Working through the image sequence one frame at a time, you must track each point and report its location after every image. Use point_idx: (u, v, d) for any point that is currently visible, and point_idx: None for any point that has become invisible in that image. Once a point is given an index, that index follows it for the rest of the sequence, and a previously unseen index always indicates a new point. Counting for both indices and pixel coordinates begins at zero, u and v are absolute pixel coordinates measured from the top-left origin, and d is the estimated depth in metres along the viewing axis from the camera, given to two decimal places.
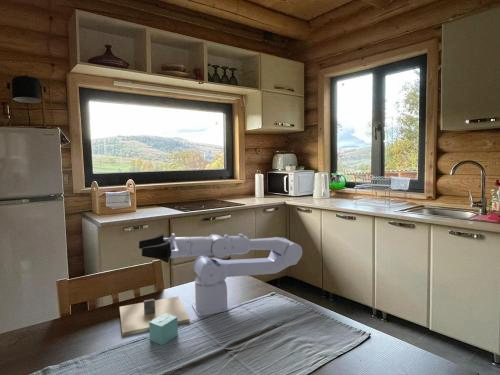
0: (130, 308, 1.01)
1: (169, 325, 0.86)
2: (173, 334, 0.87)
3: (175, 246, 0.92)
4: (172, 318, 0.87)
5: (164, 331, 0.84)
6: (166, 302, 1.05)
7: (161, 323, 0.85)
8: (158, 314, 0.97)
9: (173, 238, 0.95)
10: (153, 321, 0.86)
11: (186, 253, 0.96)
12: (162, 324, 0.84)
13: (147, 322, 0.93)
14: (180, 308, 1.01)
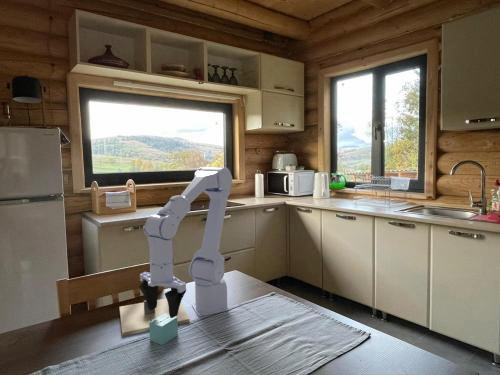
0: (130, 308, 1.01)
1: (169, 325, 0.86)
2: (173, 334, 0.87)
3: (171, 285, 0.82)
4: (172, 318, 0.87)
5: (164, 331, 0.84)
6: (166, 302, 1.05)
7: (161, 323, 0.85)
8: (158, 314, 0.97)
9: (156, 284, 0.82)
10: (153, 321, 0.86)
11: (172, 266, 0.85)
12: (162, 324, 0.84)
13: (147, 322, 0.93)
14: (180, 308, 1.01)
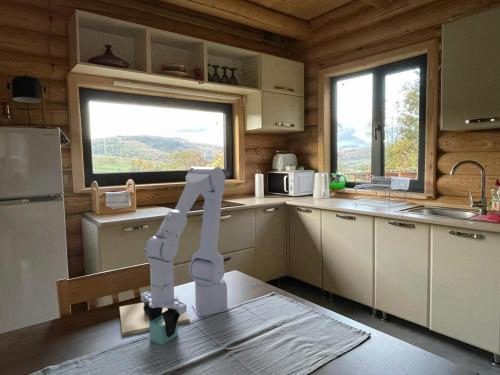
0: (130, 308, 1.01)
1: None
2: None
3: (172, 307, 0.82)
4: None
5: (164, 331, 0.84)
6: None
7: (161, 323, 0.85)
8: None
9: (157, 305, 0.83)
10: (153, 321, 0.86)
11: (173, 286, 0.85)
12: (162, 324, 0.84)
13: (147, 322, 0.93)
14: None
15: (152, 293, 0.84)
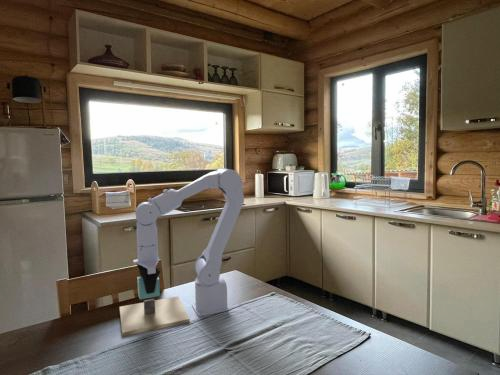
0: (130, 308, 1.01)
1: None
2: (154, 293, 0.96)
3: (144, 266, 0.91)
4: None
5: (142, 287, 0.94)
6: (166, 302, 1.05)
7: None
8: (158, 314, 0.97)
9: (137, 262, 0.94)
10: (140, 277, 0.97)
11: (153, 249, 0.94)
12: (141, 281, 0.94)
13: (147, 322, 0.93)
14: (180, 308, 1.01)
15: None
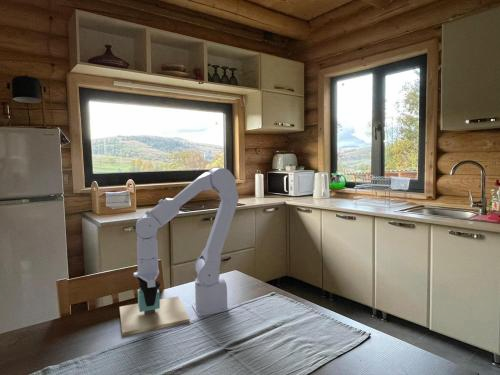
0: (130, 308, 1.01)
1: None
2: (154, 306, 0.96)
3: (144, 279, 0.92)
4: None
5: (142, 300, 0.95)
6: (166, 302, 1.05)
7: None
8: (158, 314, 0.97)
9: (137, 275, 0.94)
10: (140, 289, 0.98)
11: (153, 262, 0.95)
12: (142, 294, 0.95)
13: (147, 322, 0.93)
14: (180, 308, 1.01)
15: None
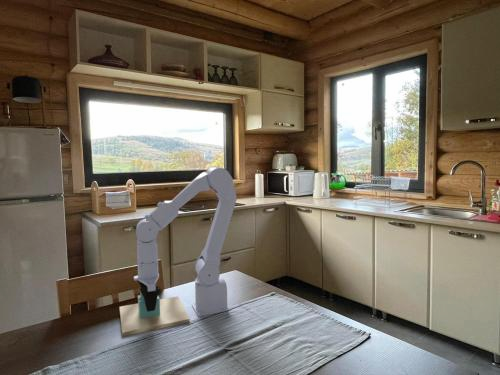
0: (130, 308, 1.01)
1: None
2: (154, 312, 0.96)
3: (144, 283, 0.92)
4: None
5: (143, 306, 0.95)
6: (166, 302, 1.05)
7: (143, 299, 0.96)
8: None
9: (138, 279, 0.95)
10: (140, 296, 0.98)
11: (153, 266, 0.95)
12: (142, 300, 0.95)
13: (147, 322, 0.93)
14: (180, 308, 1.01)
15: None
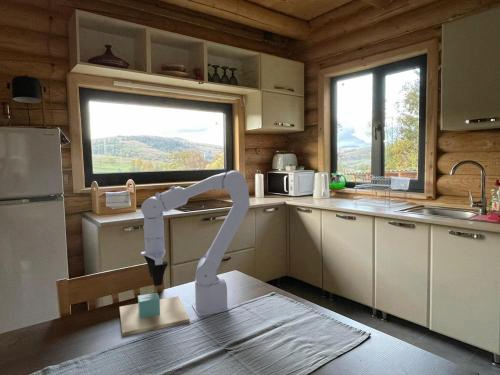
0: (130, 308, 1.01)
1: (149, 303, 0.96)
2: (154, 312, 0.96)
3: (152, 257, 0.95)
4: (155, 298, 0.97)
5: (143, 306, 0.95)
6: (166, 302, 1.05)
7: (143, 299, 0.96)
8: None
9: (145, 254, 0.98)
10: (140, 296, 0.98)
11: (160, 241, 0.98)
12: (142, 300, 0.95)
13: (147, 322, 0.93)
14: (180, 308, 1.01)
15: None
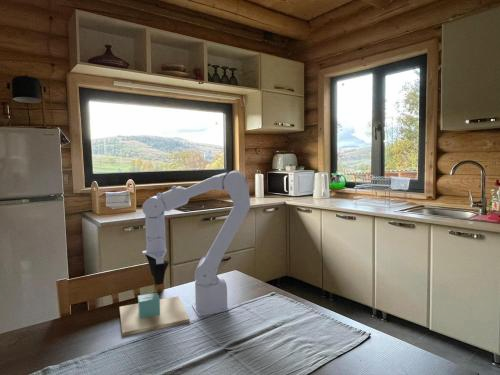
0: (130, 308, 1.01)
1: (149, 303, 0.96)
2: (154, 312, 0.96)
3: (153, 256, 0.96)
4: (155, 298, 0.97)
5: (143, 306, 0.95)
6: (166, 302, 1.05)
7: (143, 299, 0.96)
8: None
9: (146, 253, 0.99)
10: (140, 296, 0.98)
11: (161, 241, 0.99)
12: (142, 300, 0.95)
13: (147, 322, 0.93)
14: (180, 308, 1.01)
15: (146, 243, 1.00)
